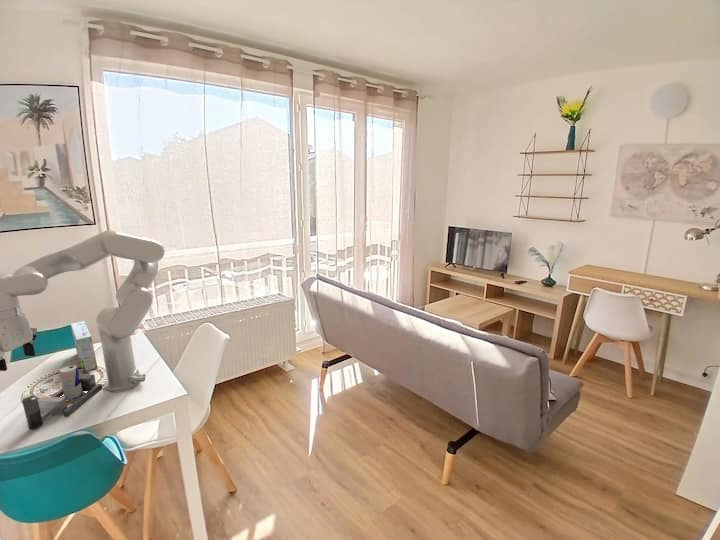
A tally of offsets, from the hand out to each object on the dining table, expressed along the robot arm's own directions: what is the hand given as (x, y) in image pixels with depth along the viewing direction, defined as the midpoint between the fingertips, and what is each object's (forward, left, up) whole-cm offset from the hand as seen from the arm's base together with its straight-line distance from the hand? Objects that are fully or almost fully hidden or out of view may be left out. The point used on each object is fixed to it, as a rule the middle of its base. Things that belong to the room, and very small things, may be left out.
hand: (16, 362), depth 122 cm
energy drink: (-6, -12, -21) cm, 25 cm away
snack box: (+9, -39, -21) cm, 45 cm away
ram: (-6, +1, -20) cm, 21 cm away
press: (-6, -9, -21) cm, 23 cm away
